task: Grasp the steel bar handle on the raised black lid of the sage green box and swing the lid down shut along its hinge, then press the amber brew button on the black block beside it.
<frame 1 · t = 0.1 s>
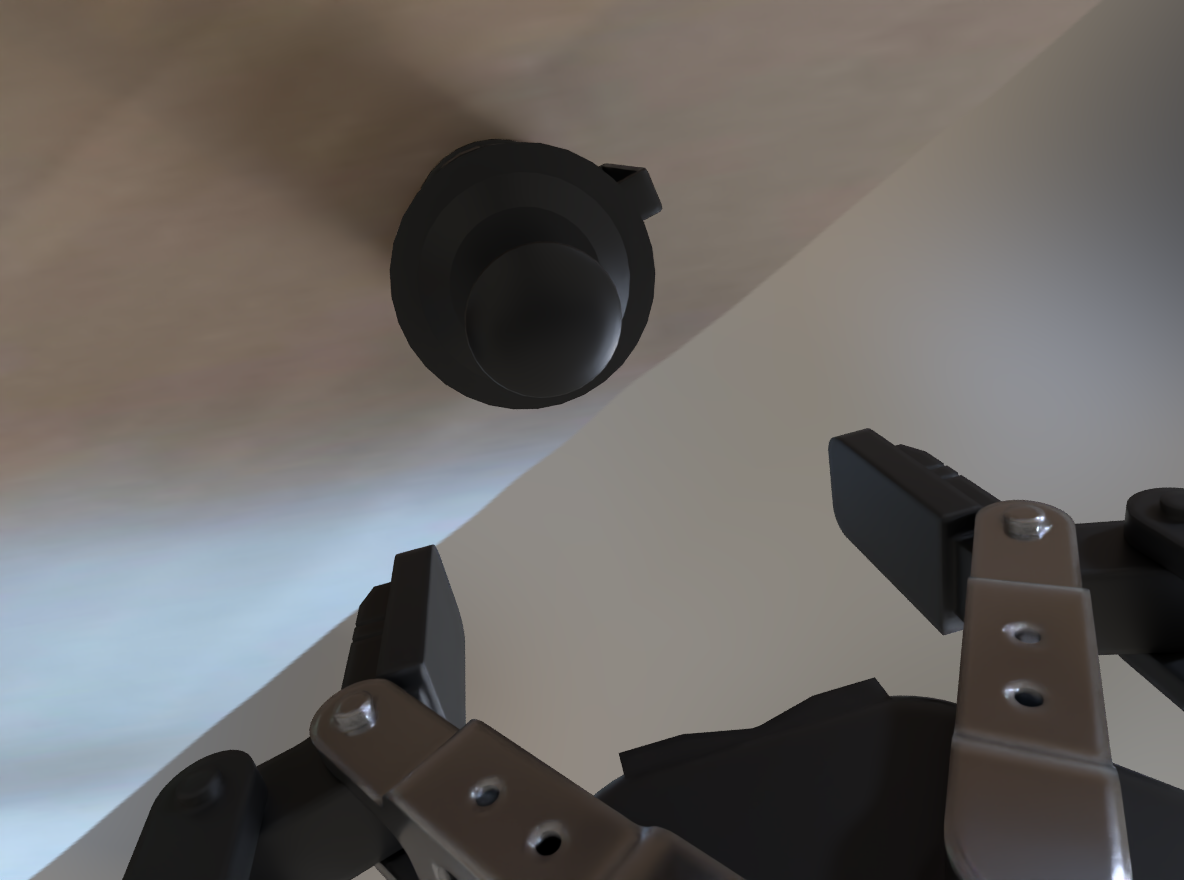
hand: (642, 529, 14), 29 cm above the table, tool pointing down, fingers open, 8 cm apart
french press: (508, 226, 40), on the table
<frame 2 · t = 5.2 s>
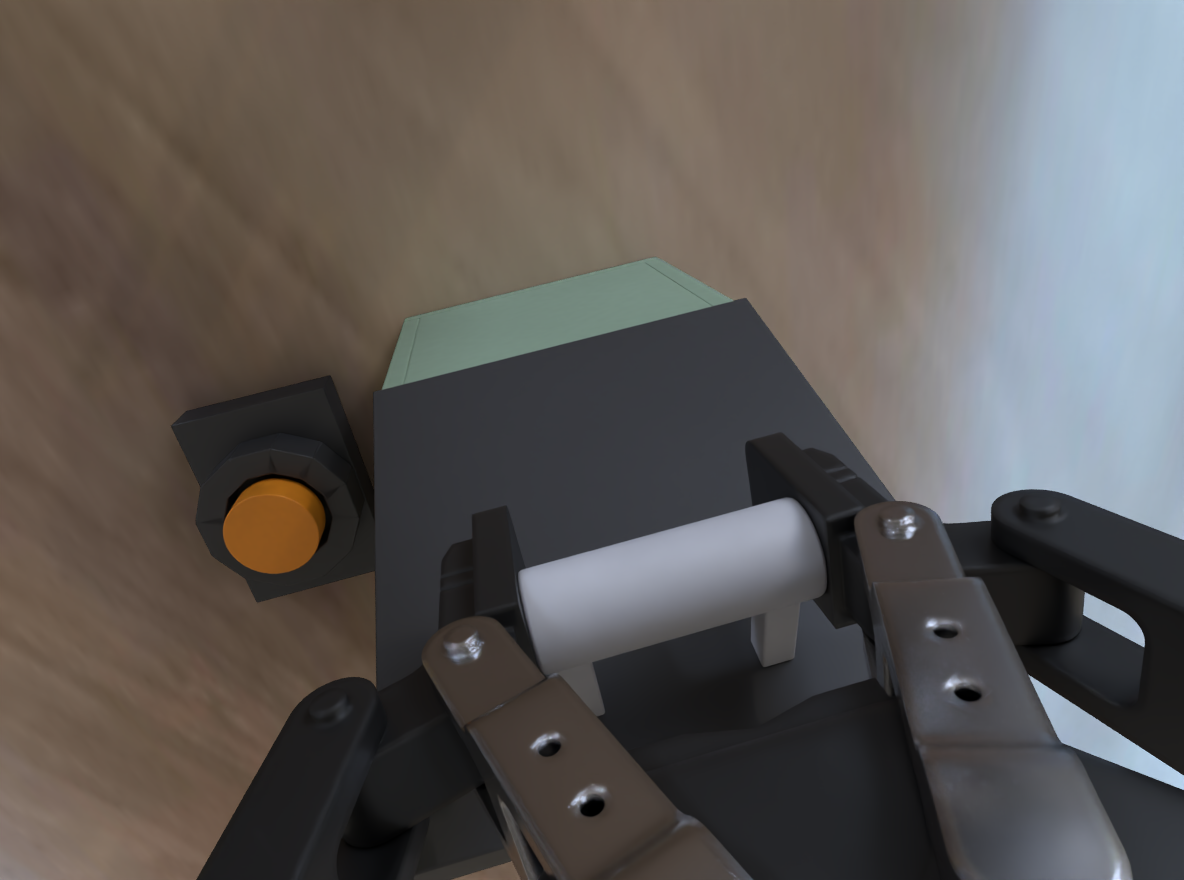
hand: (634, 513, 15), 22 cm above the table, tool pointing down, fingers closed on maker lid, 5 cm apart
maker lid: (610, 454, 17), point 20 cm above the table, hinge at 70.0°, touching gripper
sage green box: (563, 413, 38), on the table
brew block: (296, 483, 37), on the table
brew button: (276, 525, 33), point 5 cm above the table, slide at 0.1 cm
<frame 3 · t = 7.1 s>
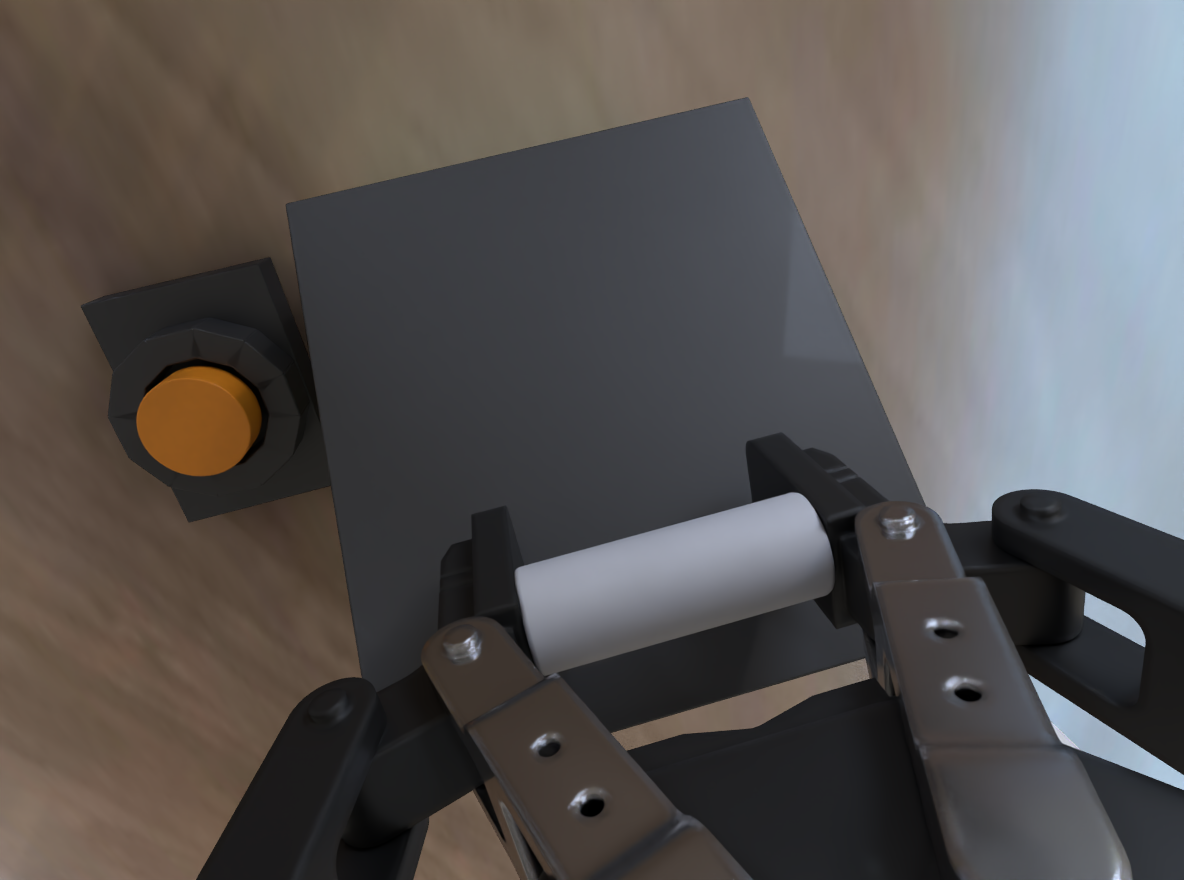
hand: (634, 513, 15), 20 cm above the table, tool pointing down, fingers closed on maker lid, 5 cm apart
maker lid: (593, 360, 15), point 19 cm above the table, hinge at 41.5°, touching gripper
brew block: (235, 386, 32), on the table
brew button: (201, 420, 28), point 5 cm above the table, slide at 0.1 cm
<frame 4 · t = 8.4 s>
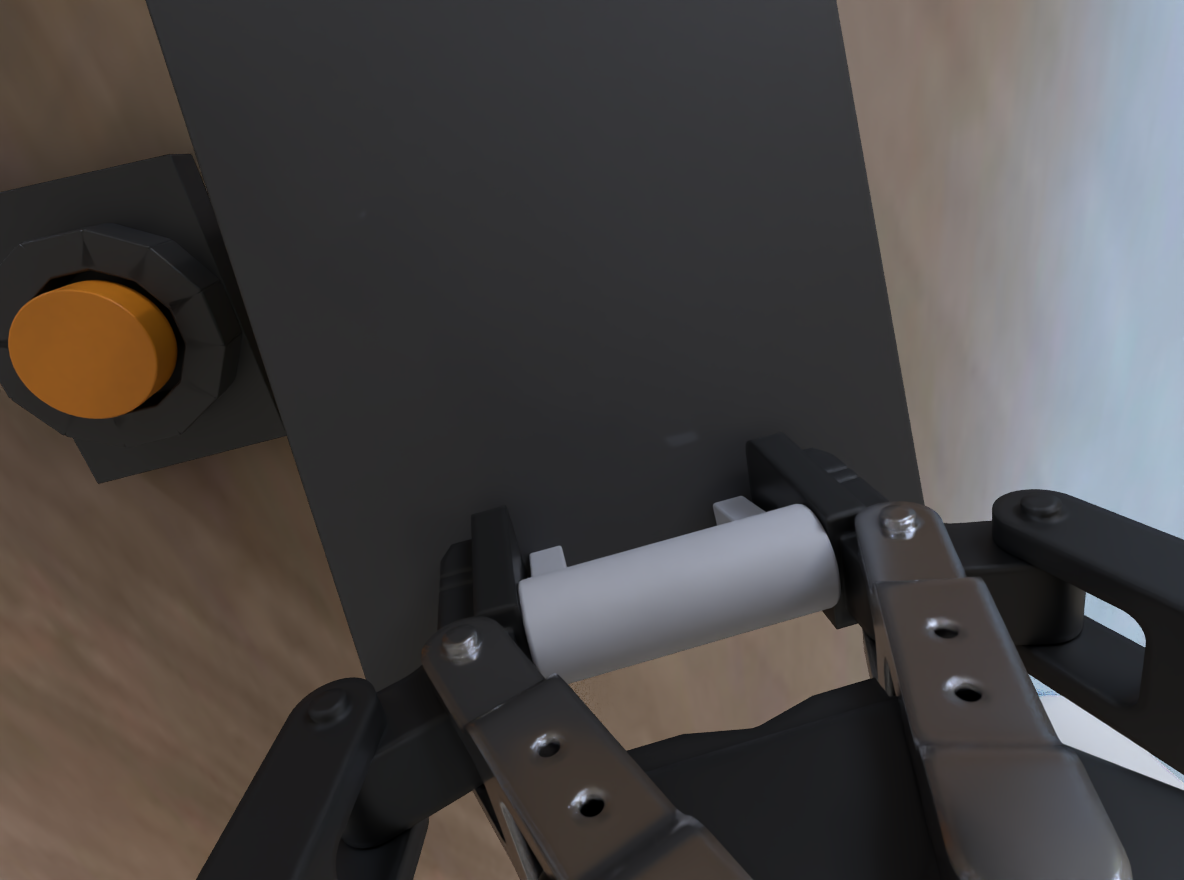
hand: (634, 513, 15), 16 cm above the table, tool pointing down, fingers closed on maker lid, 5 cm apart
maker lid: (592, 301, 13), point 16 cm above the table, hinge at 13.8°, touching gripper
cup: (1016, 748, 44), on the table
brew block: (154, 318, 27), on the table
brew button: (97, 349, 22), point 5 cm above the table, slide at 0.1 cm
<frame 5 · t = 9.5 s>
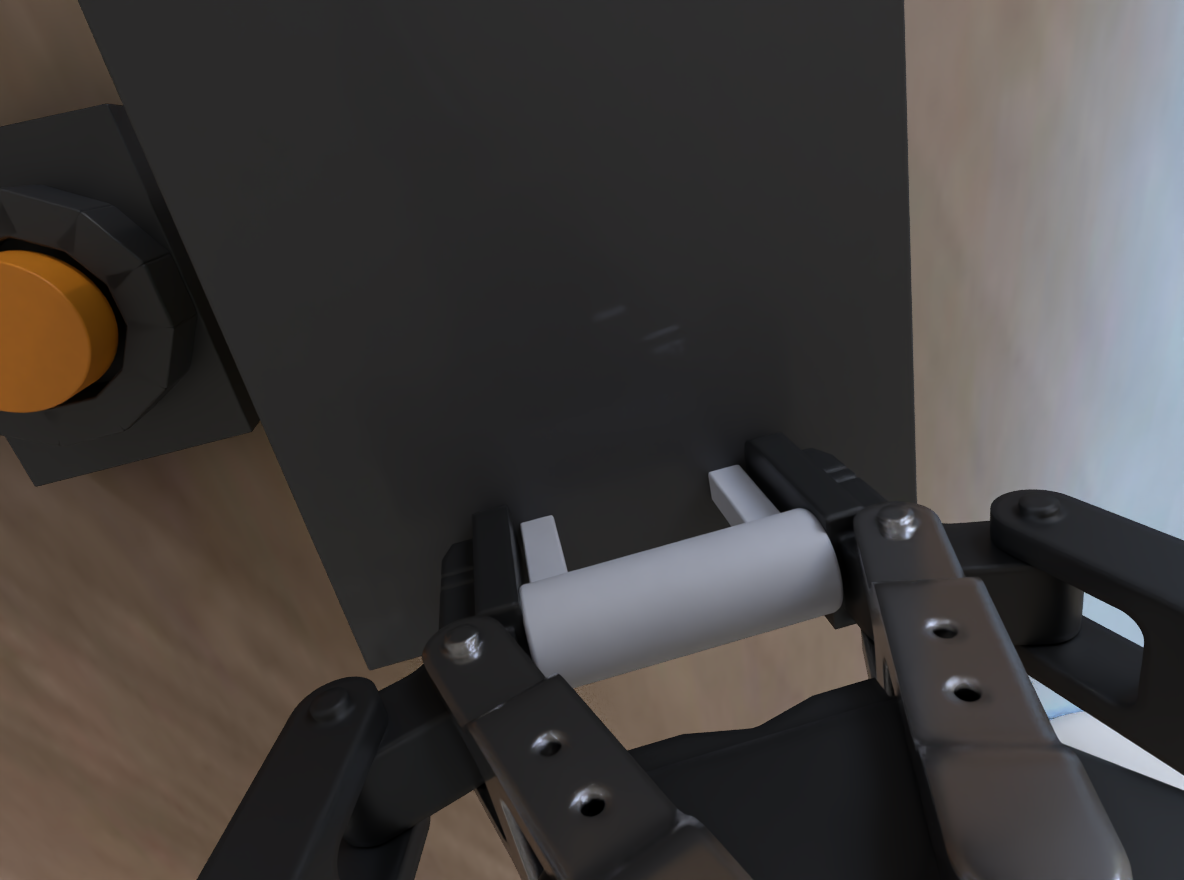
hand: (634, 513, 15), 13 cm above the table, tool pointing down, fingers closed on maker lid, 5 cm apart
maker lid: (599, 286, 11), point 14 cm above the table, hinge at -0.2°, touching sage green box, gripper
cup: (1049, 767, 41), on the table
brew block: (98, 298, 23), on the table
brew button: (21, 331, 19), point 5 cm above the table, slide at 0.1 cm
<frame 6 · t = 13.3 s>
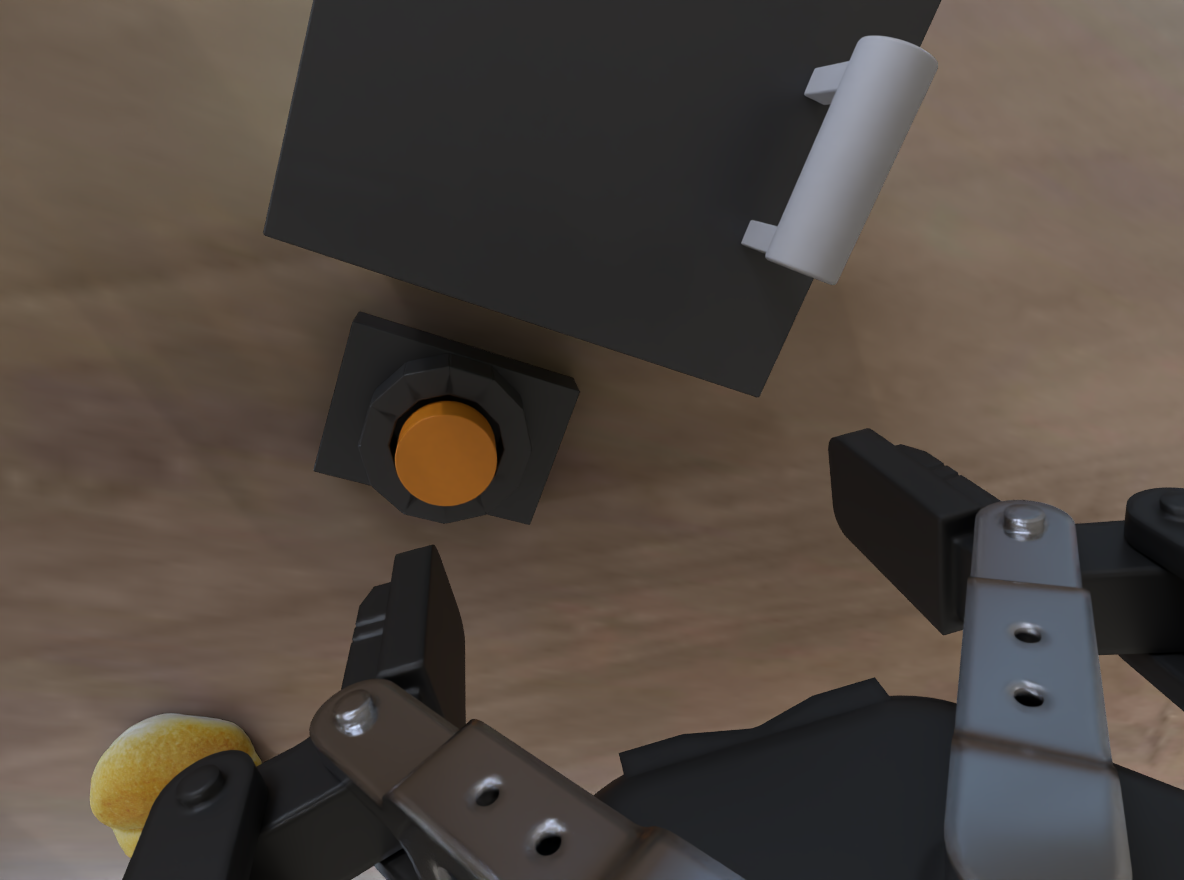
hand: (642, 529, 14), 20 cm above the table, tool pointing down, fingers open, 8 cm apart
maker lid: (632, 84, 17), point 14 cm above the table, hinge at -0.2°, touching sage green box
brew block: (448, 415, 34), on the table
bread roll: (196, 770, 39), on the table
brew button: (447, 453, 30), point 5 cm above the table, slide at 0.1 cm
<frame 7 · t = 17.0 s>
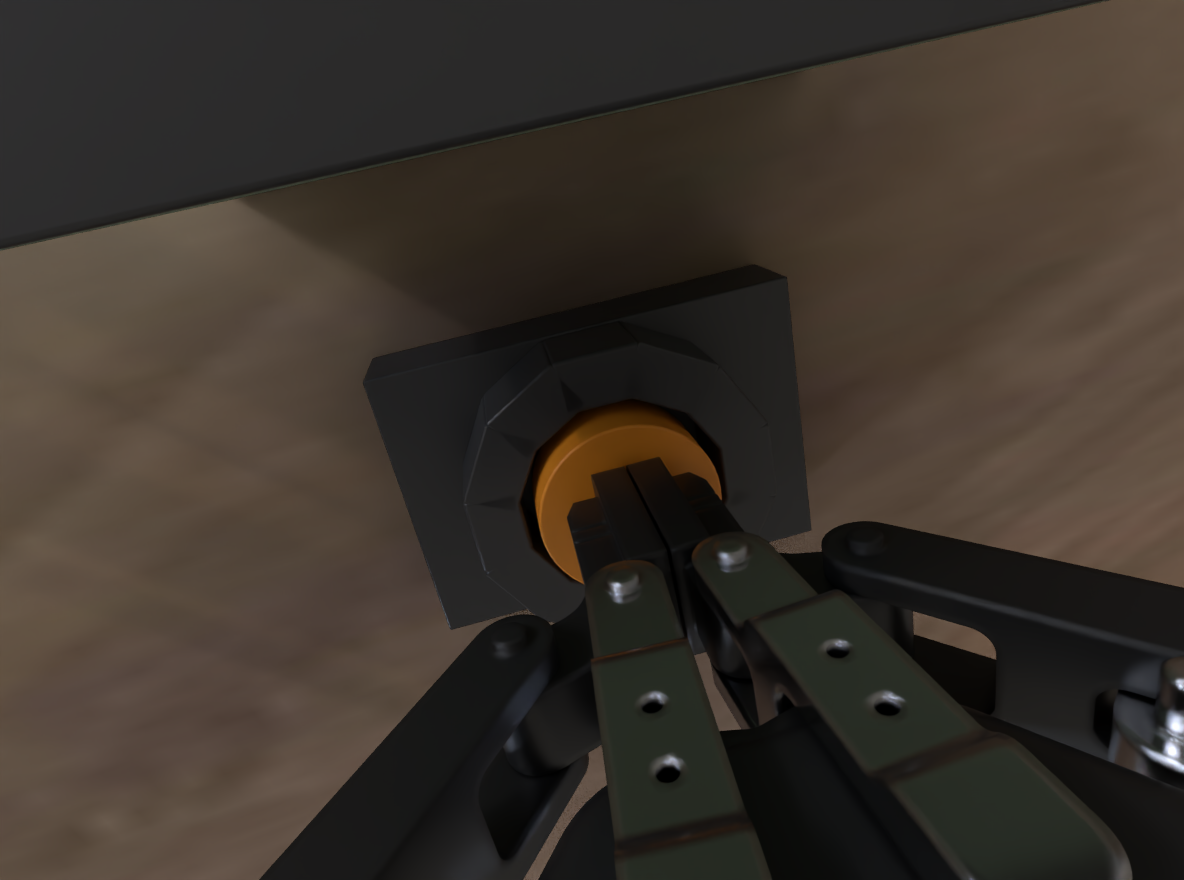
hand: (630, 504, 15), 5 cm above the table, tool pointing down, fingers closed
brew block: (595, 434, 20), on the table
brew button: (624, 494, 16), point 4 cm above the table, slide at -0.6 cm, touching gripper
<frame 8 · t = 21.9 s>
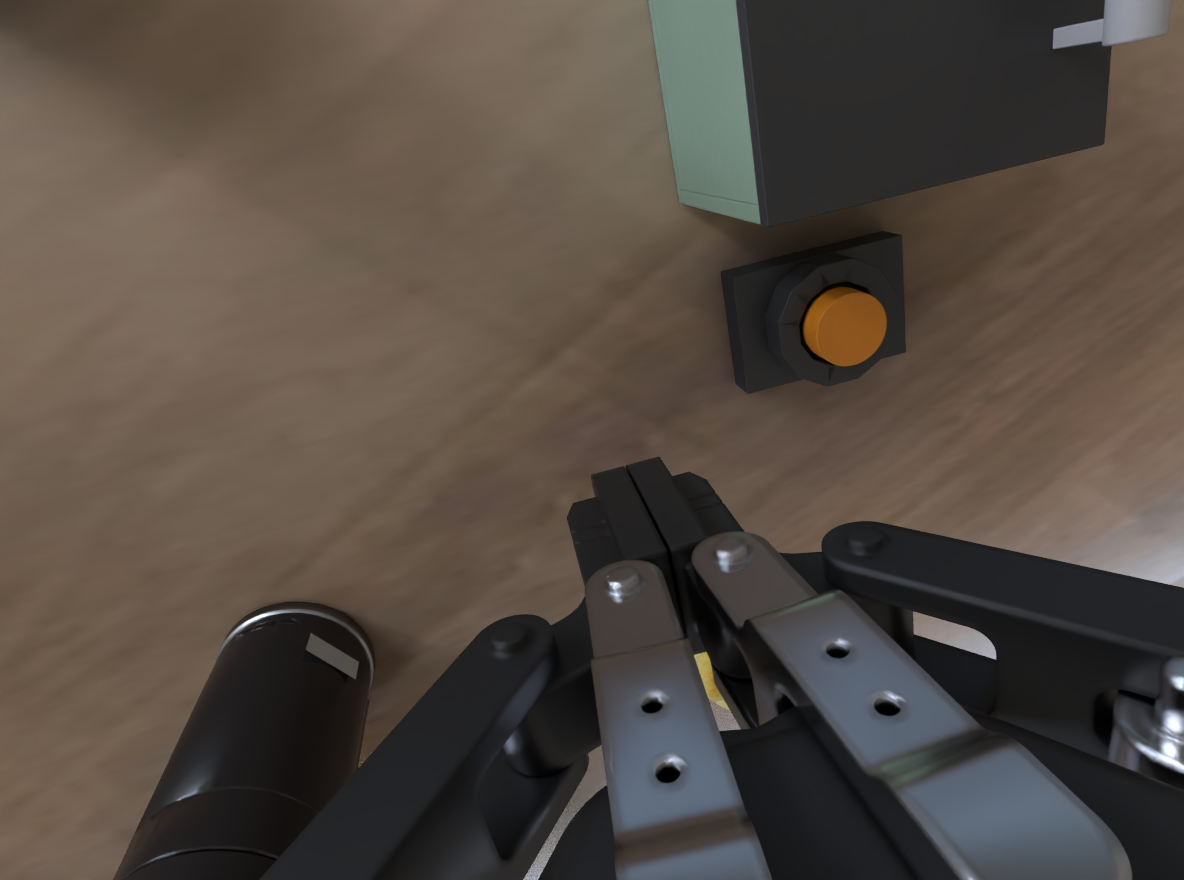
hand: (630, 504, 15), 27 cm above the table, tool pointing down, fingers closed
sage green box: (784, 49, 38), on the table
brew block: (807, 309, 43), on the table
bread roll: (743, 644, 52), on the table
brew button: (844, 326, 39), point 5 cm above the table, slide at 0.1 cm
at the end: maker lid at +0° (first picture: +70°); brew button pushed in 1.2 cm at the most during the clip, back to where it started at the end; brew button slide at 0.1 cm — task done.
